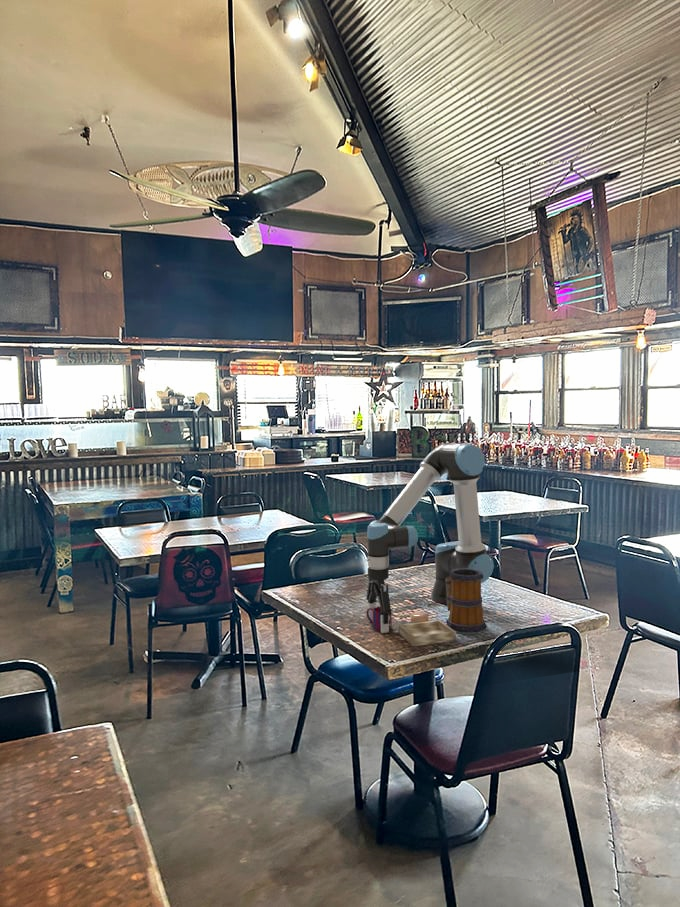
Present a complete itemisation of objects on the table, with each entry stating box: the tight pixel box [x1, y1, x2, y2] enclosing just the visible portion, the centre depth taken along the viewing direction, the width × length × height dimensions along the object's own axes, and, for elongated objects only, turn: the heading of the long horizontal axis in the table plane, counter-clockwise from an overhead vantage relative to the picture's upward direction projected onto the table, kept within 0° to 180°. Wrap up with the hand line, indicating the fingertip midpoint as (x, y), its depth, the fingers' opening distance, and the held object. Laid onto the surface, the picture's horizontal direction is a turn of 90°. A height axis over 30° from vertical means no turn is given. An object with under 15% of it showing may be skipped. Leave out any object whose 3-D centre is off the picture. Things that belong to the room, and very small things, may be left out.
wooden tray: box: [398, 619, 457, 647], centre depth 216 cm, size 16×13×3 cm
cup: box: [366, 606, 393, 632], centre depth 227 cm, size 7×10×7 cm
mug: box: [445, 568, 488, 635], centre depth 227 cm, size 19×14×20 cm
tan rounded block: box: [410, 611, 429, 624], centre depth 230 cm, size 6×6×4 cm
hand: (378, 626), depth 227 cm, fingers open, 12 cm apart
